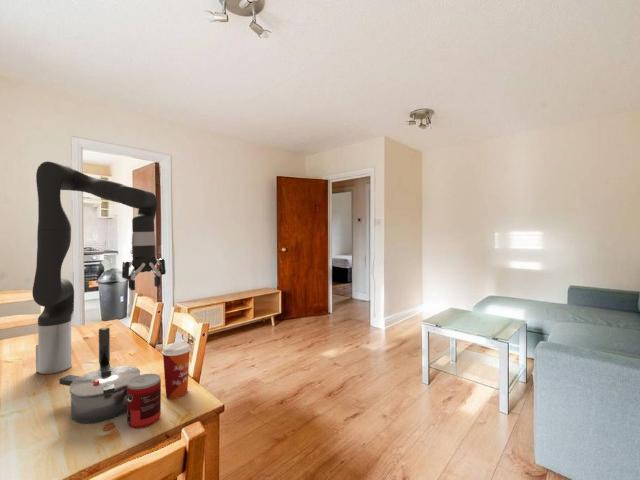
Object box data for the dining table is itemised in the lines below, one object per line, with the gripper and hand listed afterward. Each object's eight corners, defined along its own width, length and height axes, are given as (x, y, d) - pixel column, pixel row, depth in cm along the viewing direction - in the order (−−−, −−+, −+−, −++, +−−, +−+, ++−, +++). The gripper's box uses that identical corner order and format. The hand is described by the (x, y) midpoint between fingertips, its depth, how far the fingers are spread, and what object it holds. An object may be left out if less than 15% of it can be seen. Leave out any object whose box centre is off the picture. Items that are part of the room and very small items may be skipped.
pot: (161, 397, 93) (161, 375, 93) (114, 430, 78) (114, 403, 78) (90, 386, 100) (90, 365, 100) (34, 414, 85) (33, 389, 84)
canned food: (136, 412, 86) (135, 373, 85) (165, 411, 86) (165, 372, 86) (120, 430, 78) (120, 387, 78) (153, 428, 79) (153, 386, 78)
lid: (145, 387, 85) (145, 342, 85) (67, 408, 75) (67, 357, 74) (134, 360, 103) (134, 323, 103) (70, 373, 93) (70, 332, 93)
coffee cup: (179, 402, 91) (179, 352, 91) (155, 399, 93) (155, 349, 92) (196, 388, 99) (196, 342, 99) (174, 385, 101) (174, 340, 101)
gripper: (127, 245, 105) (128, 292, 105) (168, 243, 116) (169, 286, 116) (117, 245, 109) (119, 290, 109) (158, 243, 120) (159, 284, 121)
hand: (145, 288), depth 113 cm, fingers open, 8 cm apart
